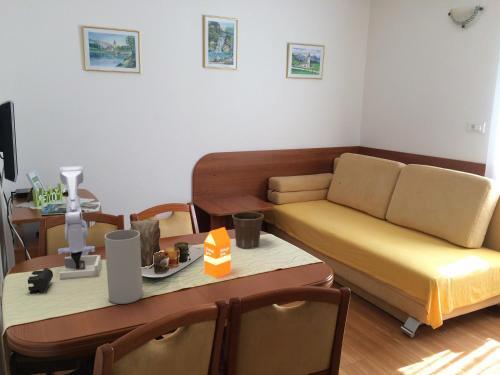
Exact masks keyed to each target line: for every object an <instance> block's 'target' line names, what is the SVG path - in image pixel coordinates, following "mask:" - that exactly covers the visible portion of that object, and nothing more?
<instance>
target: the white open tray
mask: <svg viewBox="0 0 500 375" xmlns="http://www.w3.org/2000/svg"><path fill="white" fill-rule="evenodd" d="M101 257H102V256H101V254H92V255H90V254H88V256H81V258H80V260H85V268H86V269H76V268H69V267H65V266H64V269H63V271H60V272H59V280H60V281H61V280H63V281H65V280H74V279H84V278H85V279H86V278H98V277H99V275H100V271H101V267H102V258H101ZM66 258H67V259H72V257H70V256H64V260H65V259H66Z"/></svg>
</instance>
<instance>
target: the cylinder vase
mask: <svg viewBox="0 0 500 375" xmlns="http://www.w3.org/2000/svg"><path fill="white" fill-rule="evenodd" d="M104 248H105V260H106V261H105V262H106V263H105V264H106V277H107V278H106V279H107V290H108V292H107V293H108V299H109V301H110V302H111V303H114V304H118V305H126V304H131V303H134V302H137V301H138V300H140V299H141V298H142V297H143V294H144V293H143V292H144V291H143V271H142V269H143V268H141V247H140V233H139V232H138V231H135V230H130V229H118V230H113V231H110V232H107V233H106V234H104Z"/></svg>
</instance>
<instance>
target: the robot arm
mask: <svg viewBox="0 0 500 375" xmlns="http://www.w3.org/2000/svg"><path fill="white" fill-rule="evenodd" d="M83 168H84V167H83V166H82V165H72V166H71V165H70V166H68V165H67V166H60V167H59V179H60V182H61V183H62V185H65V186H66V188H67V193H68V196H67V197H66V198H65V210H66V212H65V215H64V216H65V217H64V218H65V224H64V235H65V236H64V238H65V240H66V241H68V247H61V248H58V249H57V253H58V254H57V255H62V254H69V257H72V259H73V260H74V262H75V264H76V269H79V268H80V264H79V261H80V258H81V256H89V253H90V252H91V253H95V252H96V248H95V246H92V245H91V246H90V245H87V243H86V242H87V241H86V239H88V236H89V234H88V225H87V222H86V220H84V219H83V212H82V206H81V198H80V196H79V185H80V184H82V183H84V169H83Z"/></svg>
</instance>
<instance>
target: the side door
mask: <svg viewBox="0 0 500 375" xmlns="http://www.w3.org/2000/svg"><path fill="white" fill-rule="evenodd" d="M79 264H80V268H79V269H86V268H85V260H80V261H79ZM65 267H69V268H76V264H75V262H74V260H73V259H67V258H66V259H65V258H64V268H65Z"/></svg>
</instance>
